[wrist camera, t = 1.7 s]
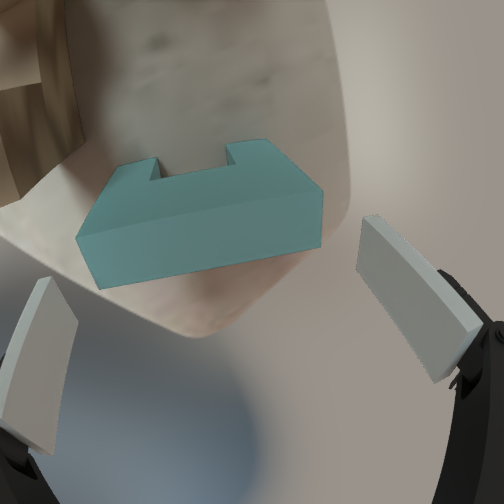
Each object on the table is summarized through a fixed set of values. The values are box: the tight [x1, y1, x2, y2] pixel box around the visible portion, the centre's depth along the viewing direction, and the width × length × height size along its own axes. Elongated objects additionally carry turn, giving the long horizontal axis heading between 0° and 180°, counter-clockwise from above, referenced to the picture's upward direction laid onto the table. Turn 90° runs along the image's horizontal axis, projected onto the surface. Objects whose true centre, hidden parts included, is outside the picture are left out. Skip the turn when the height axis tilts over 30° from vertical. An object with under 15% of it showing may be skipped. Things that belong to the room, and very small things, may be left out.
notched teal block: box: [75, 139, 323, 290], centre depth 17 cm, size 11×3×10 cm, turn 95°
